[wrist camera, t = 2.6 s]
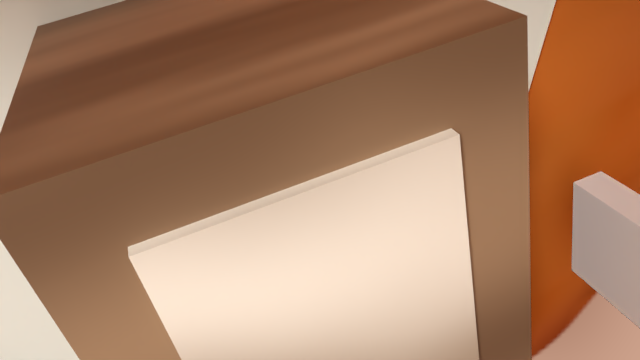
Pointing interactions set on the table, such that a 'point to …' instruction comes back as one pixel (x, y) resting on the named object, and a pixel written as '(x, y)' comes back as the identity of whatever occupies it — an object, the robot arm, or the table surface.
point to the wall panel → (3, 75)
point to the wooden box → (275, 180)
